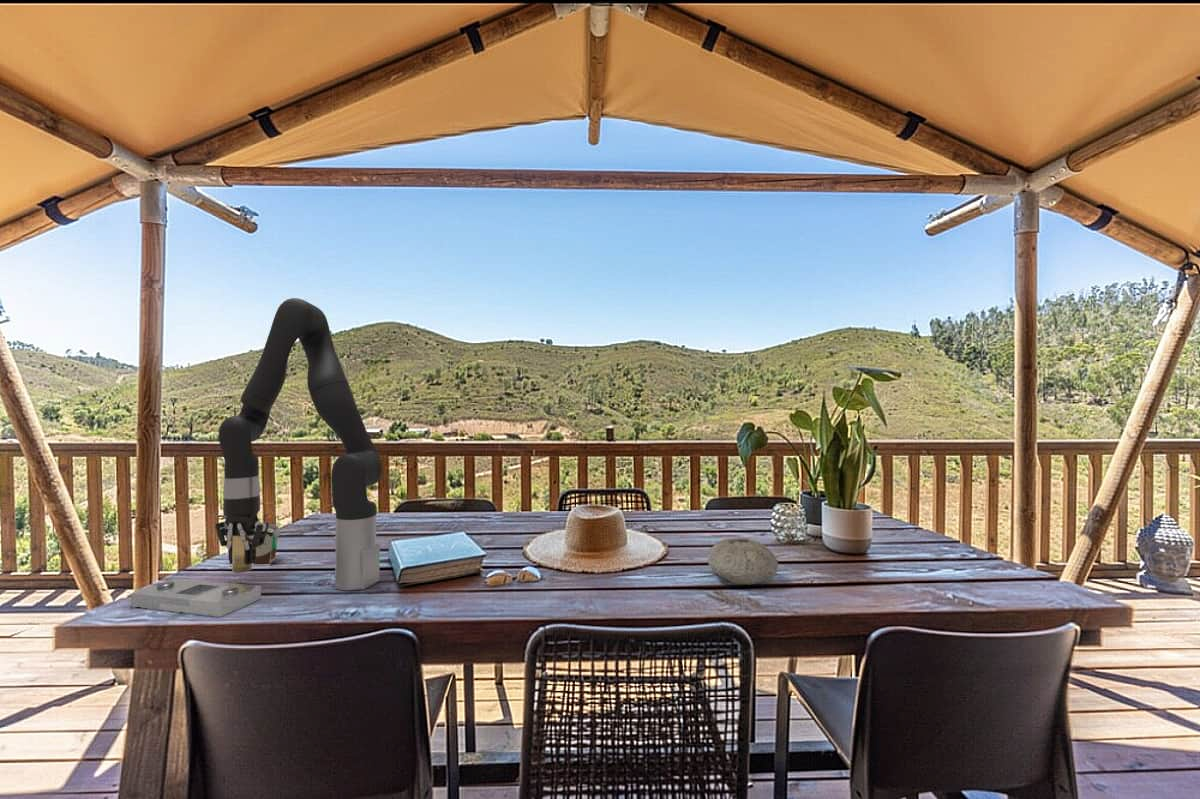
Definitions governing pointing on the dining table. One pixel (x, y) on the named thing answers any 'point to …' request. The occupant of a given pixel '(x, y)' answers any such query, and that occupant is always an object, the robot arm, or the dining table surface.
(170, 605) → the studded base plate
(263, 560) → the food container
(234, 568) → the brass pin
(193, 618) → the dining table surface
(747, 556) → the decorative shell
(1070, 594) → the dining table surface
